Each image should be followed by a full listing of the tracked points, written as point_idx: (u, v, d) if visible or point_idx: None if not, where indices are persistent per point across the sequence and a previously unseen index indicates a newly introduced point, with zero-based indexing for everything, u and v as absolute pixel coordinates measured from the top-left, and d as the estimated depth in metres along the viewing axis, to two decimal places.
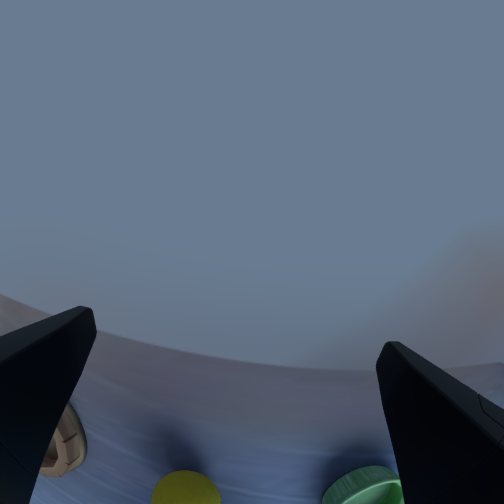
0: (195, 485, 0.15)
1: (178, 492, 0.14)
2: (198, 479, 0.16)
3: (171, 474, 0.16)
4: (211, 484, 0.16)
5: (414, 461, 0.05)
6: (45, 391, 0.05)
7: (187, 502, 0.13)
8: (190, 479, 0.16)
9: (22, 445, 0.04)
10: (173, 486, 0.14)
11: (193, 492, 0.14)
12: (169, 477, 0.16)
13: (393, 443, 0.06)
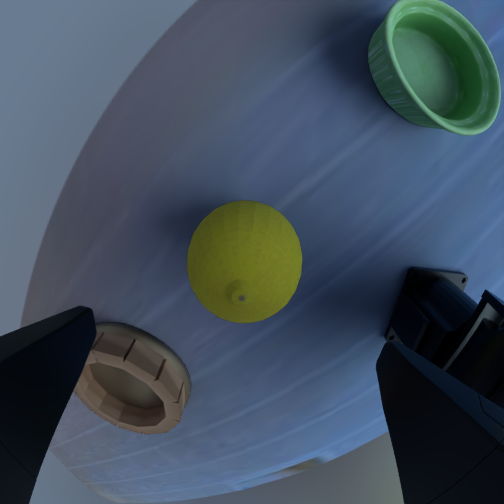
0: (208, 216, 0.13)
1: (193, 245, 0.12)
2: (213, 210, 0.14)
3: None
4: (236, 201, 0.14)
5: (414, 461, 0.05)
6: (45, 391, 0.05)
7: (207, 240, 0.11)
8: None
9: (22, 446, 0.04)
10: (189, 248, 0.13)
11: (207, 223, 0.12)
12: None
13: (393, 443, 0.06)
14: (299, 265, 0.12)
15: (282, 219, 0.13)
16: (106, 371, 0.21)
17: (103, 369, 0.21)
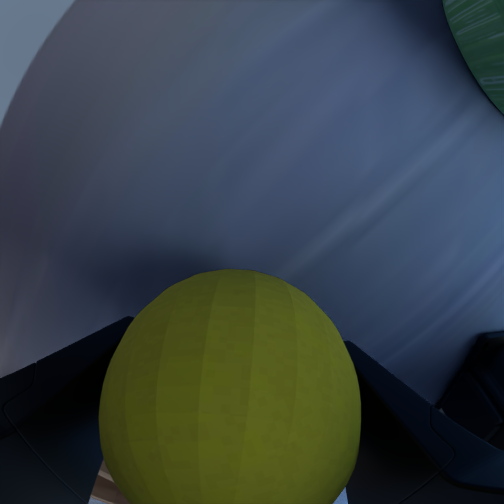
0: (134, 331, 0.05)
1: (101, 408, 0.04)
2: (153, 301, 0.05)
3: None
4: (209, 276, 0.06)
5: (358, 473, 0.05)
6: None
7: (118, 434, 0.03)
8: (131, 323, 0.05)
9: (74, 473, 0.04)
10: None
11: (125, 367, 0.04)
12: None
13: None
14: (358, 450, 0.04)
15: (327, 345, 0.04)
16: None
17: None
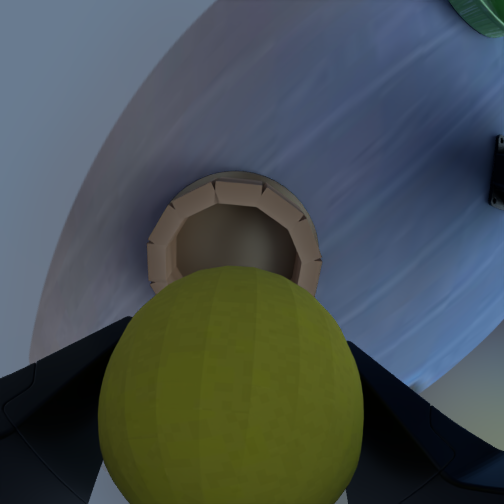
0: (134, 328, 0.05)
1: (100, 406, 0.04)
2: (154, 298, 0.05)
3: None
4: (210, 273, 0.06)
5: (358, 473, 0.05)
6: None
7: (117, 432, 0.03)
8: None
9: (74, 473, 0.04)
10: None
11: (124, 363, 0.04)
12: None
13: None
14: (360, 448, 0.04)
15: (329, 342, 0.04)
16: (202, 248, 0.19)
17: (198, 245, 0.19)
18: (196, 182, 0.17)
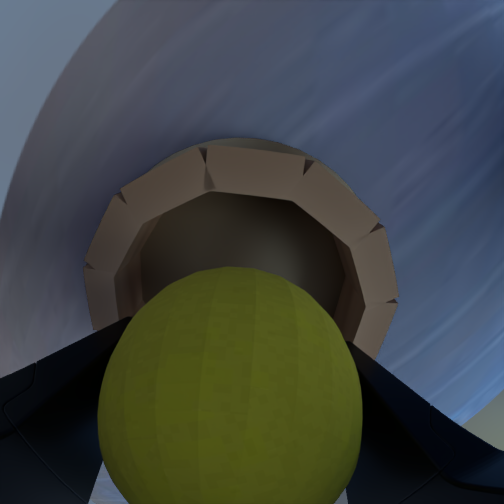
0: (134, 329, 0.05)
1: (100, 406, 0.04)
2: (152, 299, 0.05)
3: None
4: (209, 274, 0.06)
5: (358, 473, 0.05)
6: None
7: (117, 432, 0.03)
8: (130, 321, 0.05)
9: (74, 473, 0.04)
10: None
11: (124, 364, 0.04)
12: None
13: None
14: (359, 448, 0.04)
15: (328, 343, 0.04)
16: (184, 274, 0.11)
17: (177, 269, 0.11)
18: (173, 156, 0.09)
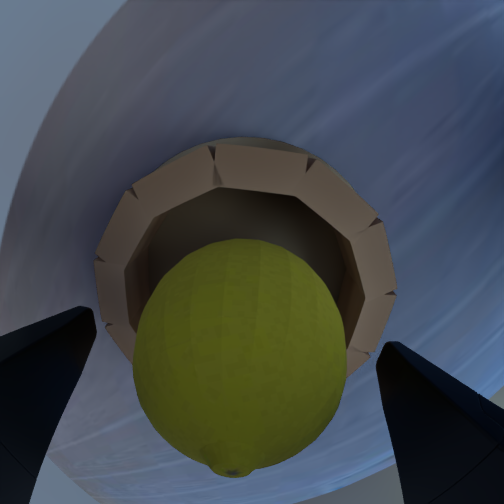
0: (168, 279, 0.06)
1: (137, 340, 0.06)
2: (181, 260, 0.07)
3: None
4: (224, 241, 0.07)
5: (414, 461, 0.05)
6: (45, 391, 0.05)
7: (156, 348, 0.05)
8: (162, 278, 0.07)
9: (22, 445, 0.04)
10: None
11: (162, 300, 0.06)
12: None
13: (393, 443, 0.06)
14: (345, 376, 0.06)
15: (314, 285, 0.06)
16: None
17: None
18: (181, 154, 0.10)
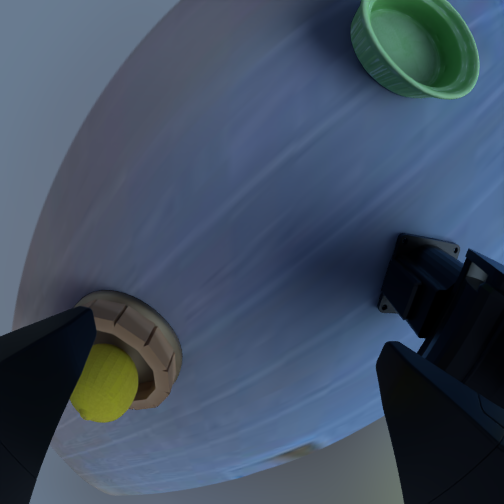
0: None
1: None
2: None
3: None
4: (93, 348, 0.18)
5: (414, 461, 0.05)
6: (45, 391, 0.05)
7: None
8: None
9: (22, 445, 0.04)
10: None
11: None
12: None
13: (393, 443, 0.06)
14: (120, 400, 0.16)
15: (110, 371, 0.17)
16: (98, 342, 0.22)
17: (95, 340, 0.22)
18: (84, 300, 0.20)
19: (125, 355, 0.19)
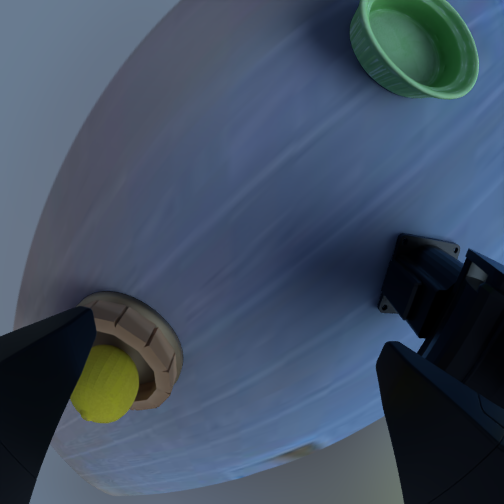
0: None
1: None
2: None
3: None
4: (93, 349, 0.18)
5: (414, 461, 0.05)
6: (45, 391, 0.05)
7: None
8: None
9: (22, 445, 0.04)
10: None
11: None
12: None
13: (393, 443, 0.06)
14: (120, 401, 0.16)
15: (111, 372, 0.17)
16: (99, 343, 0.22)
17: (96, 341, 0.22)
18: (84, 301, 0.20)
19: (126, 356, 0.19)
